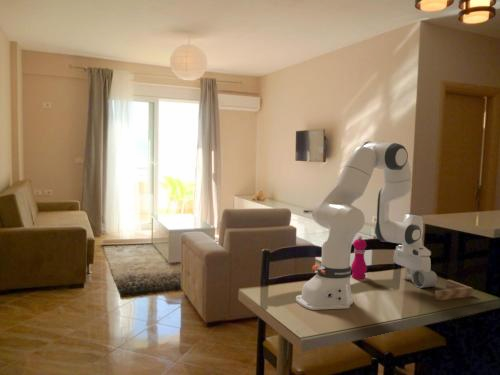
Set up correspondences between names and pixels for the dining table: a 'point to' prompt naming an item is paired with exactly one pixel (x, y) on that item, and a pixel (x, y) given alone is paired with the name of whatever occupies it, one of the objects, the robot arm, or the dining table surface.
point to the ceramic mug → (424, 279)
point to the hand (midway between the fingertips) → (410, 277)
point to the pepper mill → (359, 259)
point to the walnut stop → (453, 291)
